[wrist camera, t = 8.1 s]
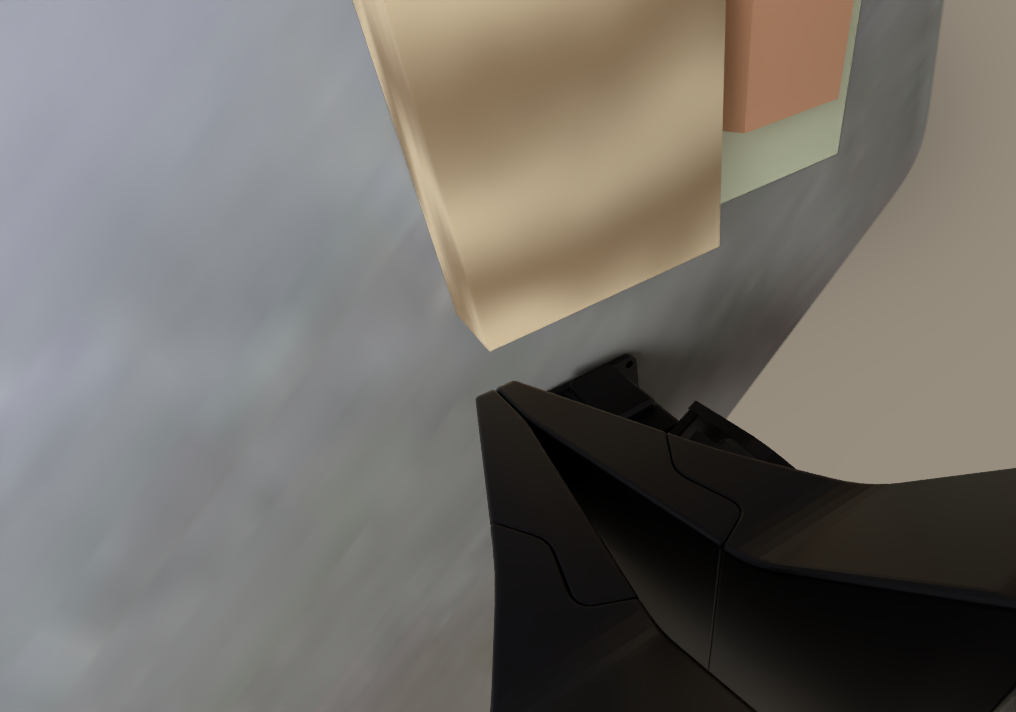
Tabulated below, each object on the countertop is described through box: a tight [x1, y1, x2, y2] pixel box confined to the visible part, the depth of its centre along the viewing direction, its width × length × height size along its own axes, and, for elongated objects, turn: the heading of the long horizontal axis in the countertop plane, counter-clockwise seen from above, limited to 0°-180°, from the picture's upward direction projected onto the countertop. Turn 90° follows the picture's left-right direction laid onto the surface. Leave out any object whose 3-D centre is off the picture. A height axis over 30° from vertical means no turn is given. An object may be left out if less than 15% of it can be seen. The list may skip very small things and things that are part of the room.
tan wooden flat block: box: [353, 0, 726, 351], centre depth 18 cm, size 18×12×4 cm, turn 14°
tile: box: [722, 0, 854, 133], centre depth 21 cm, size 9×6×2 cm, turn 13°
